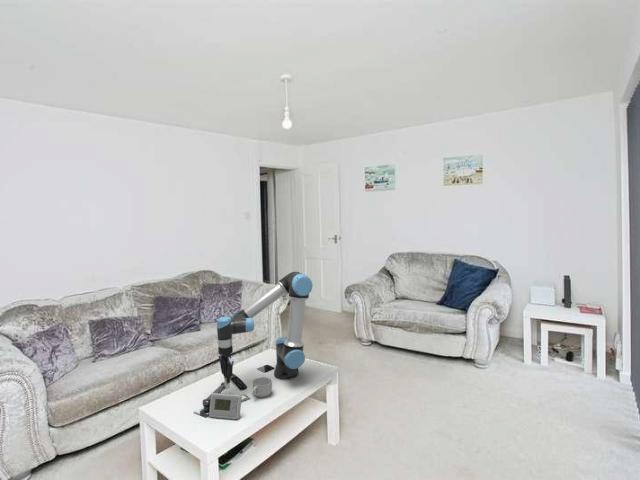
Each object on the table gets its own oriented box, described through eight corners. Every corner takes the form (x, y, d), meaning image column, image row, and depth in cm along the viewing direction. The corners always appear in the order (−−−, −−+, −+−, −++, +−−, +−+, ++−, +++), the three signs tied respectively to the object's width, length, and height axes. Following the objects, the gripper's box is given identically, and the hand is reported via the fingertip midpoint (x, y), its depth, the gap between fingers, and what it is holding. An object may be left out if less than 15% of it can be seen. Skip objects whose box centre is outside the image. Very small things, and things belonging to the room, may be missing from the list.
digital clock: (207, 417, 179) (206, 396, 178) (218, 408, 187) (217, 388, 187) (234, 424, 173) (233, 402, 172) (245, 414, 181) (244, 393, 180)
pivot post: (210, 407, 188) (210, 400, 188) (216, 412, 183) (216, 405, 183) (197, 412, 184) (197, 404, 183) (203, 418, 178) (203, 410, 178)
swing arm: (208, 407, 181) (208, 402, 180) (201, 406, 181) (200, 402, 181) (228, 386, 202) (228, 382, 202) (222, 385, 203) (222, 382, 203)
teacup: (262, 388, 208) (262, 374, 208) (276, 393, 202) (276, 379, 201) (244, 398, 197) (243, 384, 196) (258, 404, 191) (258, 389, 190)
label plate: (244, 394, 201) (244, 393, 201) (250, 398, 196) (250, 397, 196) (231, 400, 195) (231, 398, 195) (237, 404, 191) (236, 402, 191)
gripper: (213, 344, 200) (215, 386, 201) (224, 350, 190) (226, 394, 192) (226, 341, 205) (228, 381, 206) (237, 347, 195) (239, 389, 197)
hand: (227, 388), depth 199 cm, fingers closed
